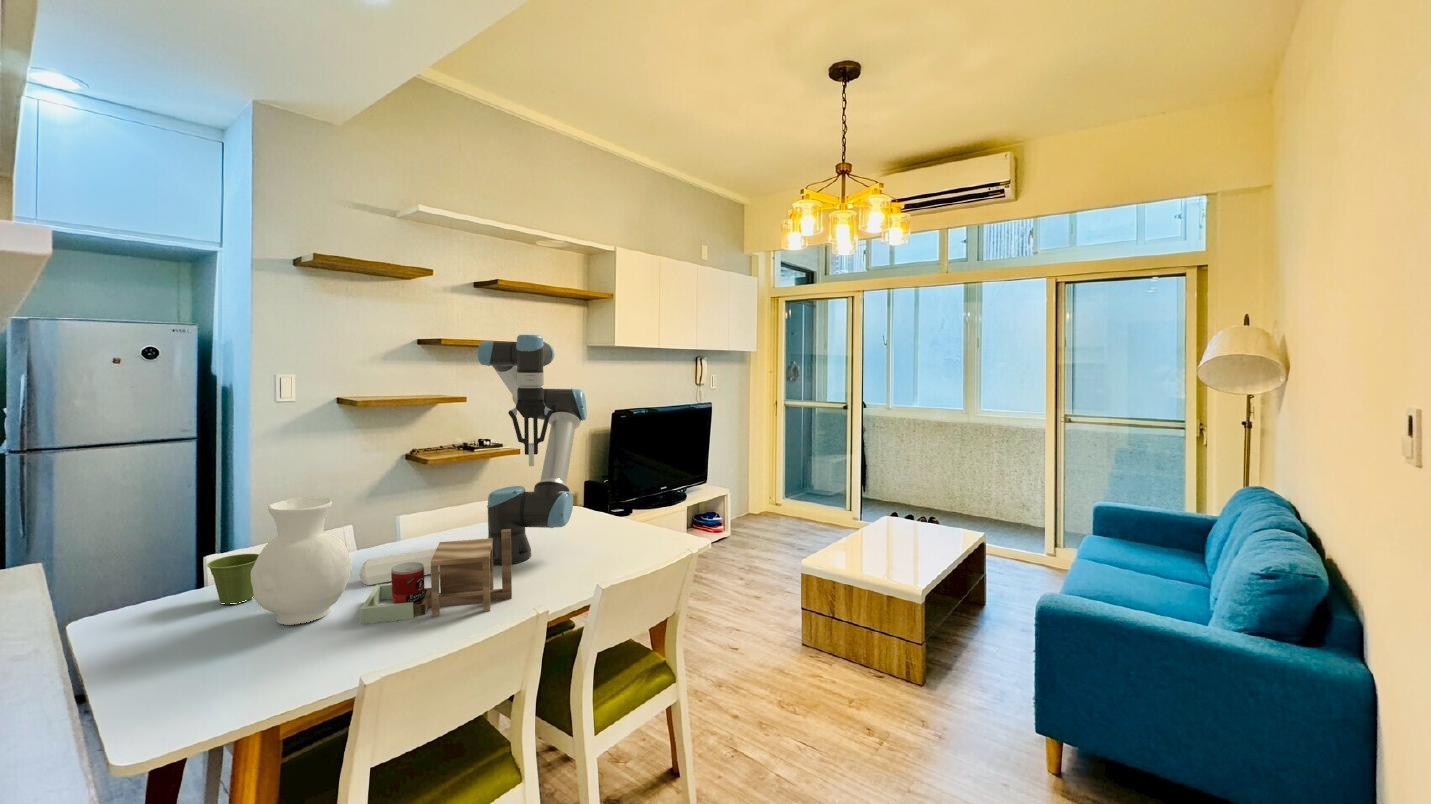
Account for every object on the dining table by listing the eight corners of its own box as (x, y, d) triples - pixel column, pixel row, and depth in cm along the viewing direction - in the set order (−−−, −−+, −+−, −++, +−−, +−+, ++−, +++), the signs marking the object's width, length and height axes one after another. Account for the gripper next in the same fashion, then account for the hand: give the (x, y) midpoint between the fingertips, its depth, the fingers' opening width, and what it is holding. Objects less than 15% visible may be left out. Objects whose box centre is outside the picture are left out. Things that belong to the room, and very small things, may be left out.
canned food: (410, 614, 158) (409, 573, 157) (385, 611, 160) (384, 570, 159) (431, 603, 165) (430, 563, 164) (407, 599, 167) (405, 560, 166)
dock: (376, 598, 167) (376, 584, 167) (423, 594, 171) (423, 580, 170) (360, 624, 152) (360, 609, 151) (412, 619, 155) (412, 603, 155)
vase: (310, 638, 144) (304, 514, 142) (234, 630, 148) (227, 509, 146) (368, 606, 162) (364, 496, 160) (299, 599, 166) (294, 491, 164)
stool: (441, 592, 172) (439, 542, 171) (493, 587, 176) (492, 538, 175) (432, 617, 156) (430, 561, 155) (490, 610, 161) (488, 556, 159)
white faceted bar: (443, 552, 195) (357, 566, 182) (447, 546, 190) (358, 560, 176) (446, 575, 193) (359, 591, 179) (450, 570, 187) (360, 586, 174)
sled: (396, 599, 167) (394, 532, 165) (512, 588, 176) (511, 524, 174) (386, 618, 155) (384, 545, 154) (511, 605, 164) (510, 536, 163)
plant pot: (274, 596, 168) (272, 556, 167) (224, 613, 157) (222, 570, 156) (249, 589, 173) (247, 550, 172) (199, 604, 162) (197, 563, 161)
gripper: (506, 387, 175) (508, 468, 177) (553, 387, 178) (554, 466, 180) (507, 386, 182) (508, 464, 184) (552, 386, 186) (553, 462, 188)
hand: (531, 465), depth 182 cm, fingers closed
